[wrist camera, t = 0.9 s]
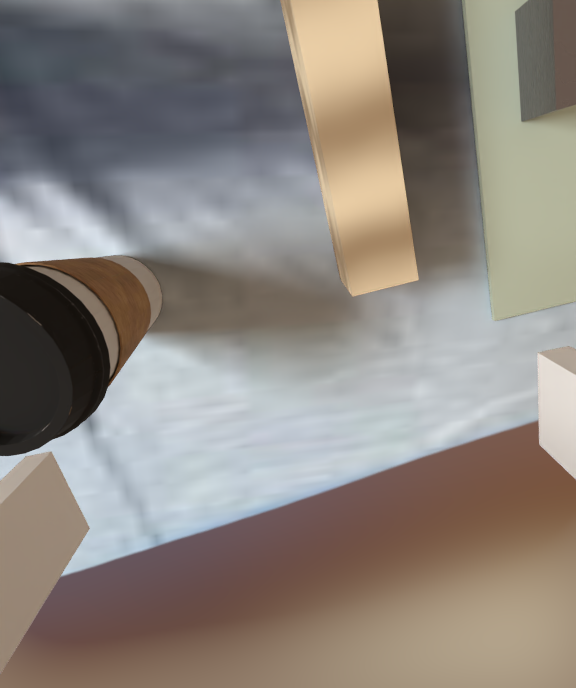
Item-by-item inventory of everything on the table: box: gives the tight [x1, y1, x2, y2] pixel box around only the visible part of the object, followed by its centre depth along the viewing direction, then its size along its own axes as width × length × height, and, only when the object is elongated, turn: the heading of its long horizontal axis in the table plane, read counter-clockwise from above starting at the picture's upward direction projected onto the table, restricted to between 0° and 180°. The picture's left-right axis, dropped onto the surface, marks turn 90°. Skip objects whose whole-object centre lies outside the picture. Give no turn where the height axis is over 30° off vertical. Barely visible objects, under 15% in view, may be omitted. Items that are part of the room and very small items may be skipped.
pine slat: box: [280, 0, 419, 297], centre depth 24 cm, size 18×4×6 cm, turn 15°
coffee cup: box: [0, 255, 162, 456], centre depth 23 cm, size 8×8×15 cm
